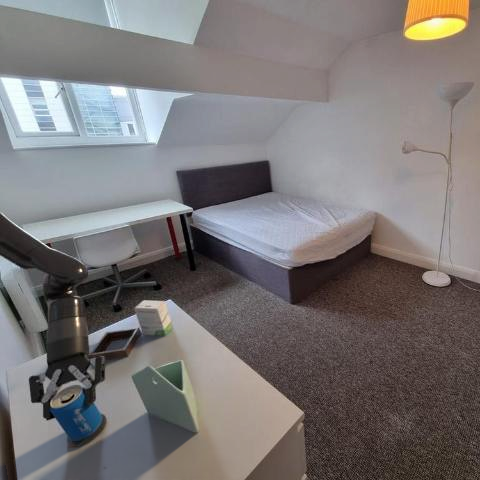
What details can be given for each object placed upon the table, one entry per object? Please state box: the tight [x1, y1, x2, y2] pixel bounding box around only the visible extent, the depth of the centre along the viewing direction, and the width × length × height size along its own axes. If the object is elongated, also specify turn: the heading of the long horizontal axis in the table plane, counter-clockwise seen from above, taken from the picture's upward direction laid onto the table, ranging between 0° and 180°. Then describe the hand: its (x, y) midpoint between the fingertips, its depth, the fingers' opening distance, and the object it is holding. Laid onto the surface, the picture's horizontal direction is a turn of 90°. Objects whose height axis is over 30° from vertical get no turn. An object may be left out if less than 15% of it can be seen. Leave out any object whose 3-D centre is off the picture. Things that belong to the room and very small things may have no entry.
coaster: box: [66, 413, 108, 448], centre depth 66 cm, size 8×8×1 cm
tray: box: [89, 326, 143, 361], centre depth 90 cm, size 11×11×3 cm
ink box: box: [133, 299, 173, 337], centre depth 95 cm, size 9×5×12 cm, turn 86°
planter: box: [131, 359, 200, 434], centre depth 67 cm, size 16×8×20 cm, turn 71°
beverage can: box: [50, 384, 102, 441], centre depth 64 cm, size 6×6×12 cm
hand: (70, 412), depth 61 cm, fingers closed on beverage can, 6 cm apart
